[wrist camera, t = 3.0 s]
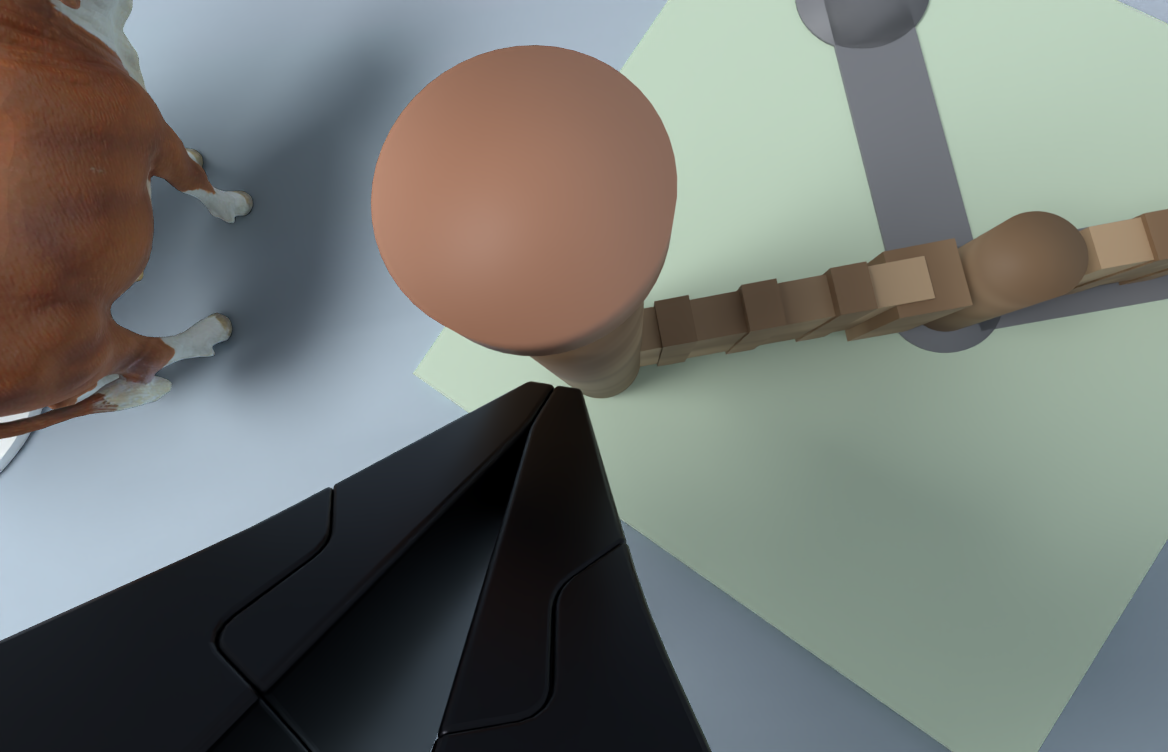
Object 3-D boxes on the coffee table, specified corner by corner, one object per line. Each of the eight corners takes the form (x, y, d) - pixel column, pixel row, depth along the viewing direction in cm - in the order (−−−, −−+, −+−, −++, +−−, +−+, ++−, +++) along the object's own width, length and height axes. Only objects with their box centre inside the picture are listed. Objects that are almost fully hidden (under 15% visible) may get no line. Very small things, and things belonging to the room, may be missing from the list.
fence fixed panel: (908, 339, 15) (1003, 307, 11) (892, 275, 16) (979, 221, 12) (1294, 272, 15) (1540, 211, 11) (1270, 204, 15) (1501, 120, 11)
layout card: (1004, 786, 14) (1014, 796, 13) (416, 374, 17) (411, 373, 16) (1398, 141, 15) (1419, 133, 14) (771, -145, 18) (775, -159, 17)
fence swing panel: (886, 255, 15) (1494, -184, 4) (910, 353, 15) (1640, 136, 4) (545, 319, 16) (355, 82, 5) (560, 414, 15) (390, 369, 5)
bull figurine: (316, 75, 18) (66, -204, 10) (207, 450, 17) (-167, 463, 9) (206, 58, 19) (-112, -220, 11) (94, 420, 18) (-353, 409, 10)
